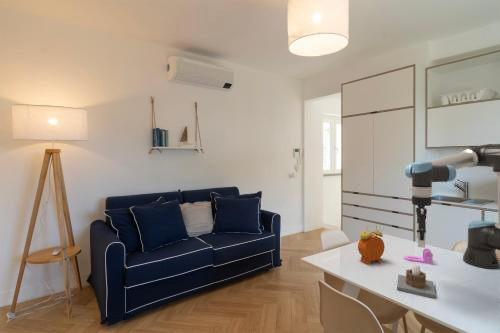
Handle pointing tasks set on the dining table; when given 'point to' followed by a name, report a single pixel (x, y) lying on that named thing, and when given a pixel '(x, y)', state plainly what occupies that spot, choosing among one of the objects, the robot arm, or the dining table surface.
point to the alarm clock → (371, 246)
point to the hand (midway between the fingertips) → (420, 242)
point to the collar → (415, 279)
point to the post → (404, 287)
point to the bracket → (425, 259)
